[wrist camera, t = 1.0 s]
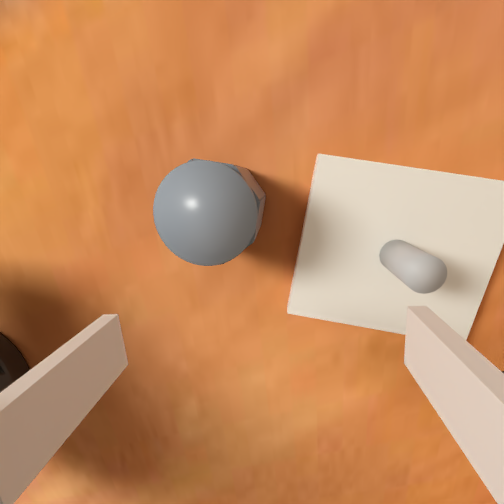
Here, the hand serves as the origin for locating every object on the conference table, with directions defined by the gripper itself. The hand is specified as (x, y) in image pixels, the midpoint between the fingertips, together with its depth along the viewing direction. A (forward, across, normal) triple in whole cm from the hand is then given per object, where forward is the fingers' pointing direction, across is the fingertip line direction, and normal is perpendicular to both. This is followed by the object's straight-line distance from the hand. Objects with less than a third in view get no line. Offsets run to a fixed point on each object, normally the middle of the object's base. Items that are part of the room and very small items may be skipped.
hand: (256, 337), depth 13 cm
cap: (+18, -4, +5) cm, 19 cm away
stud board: (+18, +12, -1) cm, 21 cm away
